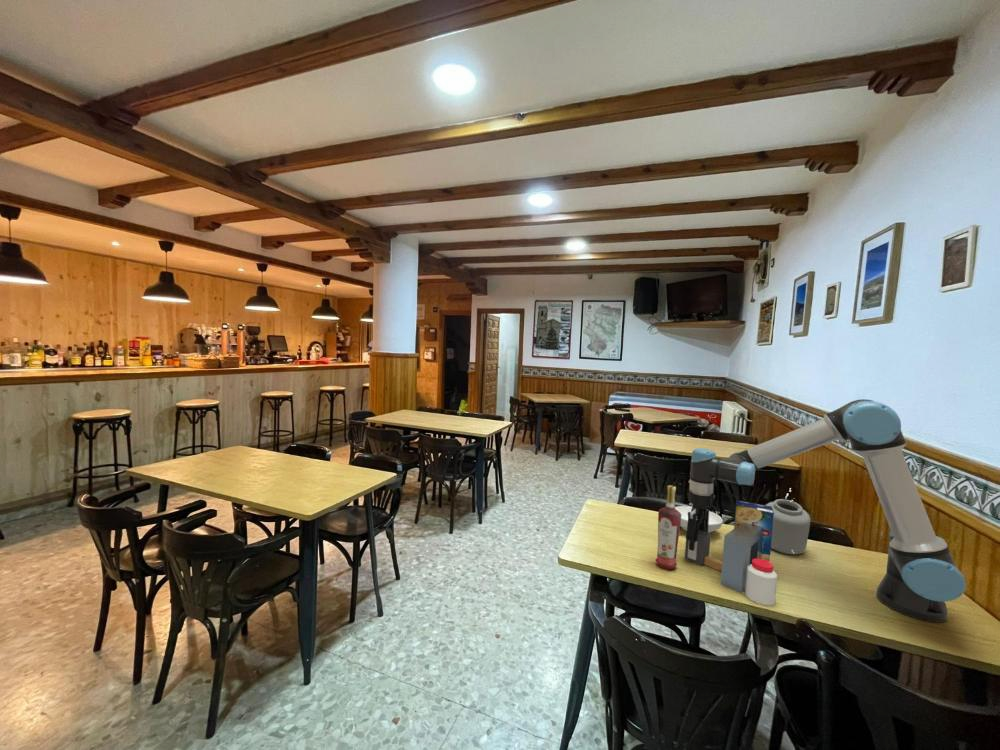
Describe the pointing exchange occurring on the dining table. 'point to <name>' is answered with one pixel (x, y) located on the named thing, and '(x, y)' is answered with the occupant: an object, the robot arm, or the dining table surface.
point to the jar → (789, 527)
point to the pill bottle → (761, 582)
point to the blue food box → (756, 521)
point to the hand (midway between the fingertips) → (695, 555)
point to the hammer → (703, 551)
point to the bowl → (714, 519)
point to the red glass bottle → (668, 531)
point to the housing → (740, 554)
